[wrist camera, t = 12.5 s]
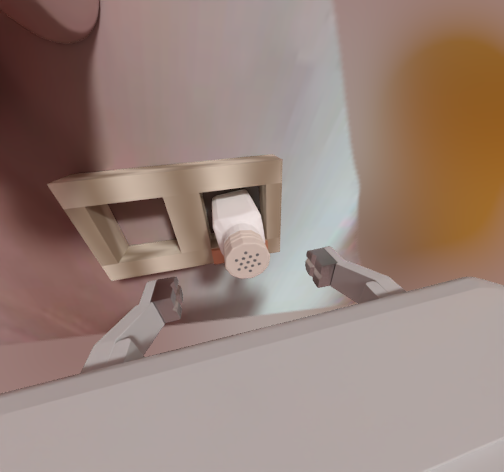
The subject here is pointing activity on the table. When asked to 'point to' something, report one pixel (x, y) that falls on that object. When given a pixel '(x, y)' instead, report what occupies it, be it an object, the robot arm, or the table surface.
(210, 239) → the slot rack
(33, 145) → the table surface
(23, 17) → the beer glass
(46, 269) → the table surface
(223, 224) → the pepper shaker
